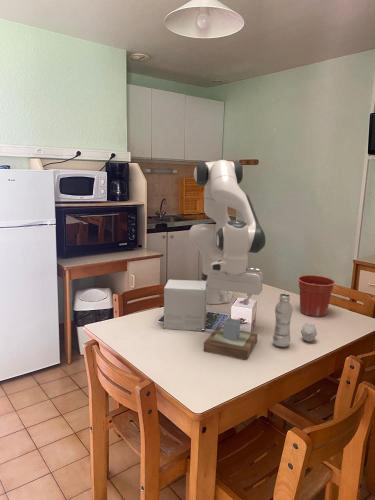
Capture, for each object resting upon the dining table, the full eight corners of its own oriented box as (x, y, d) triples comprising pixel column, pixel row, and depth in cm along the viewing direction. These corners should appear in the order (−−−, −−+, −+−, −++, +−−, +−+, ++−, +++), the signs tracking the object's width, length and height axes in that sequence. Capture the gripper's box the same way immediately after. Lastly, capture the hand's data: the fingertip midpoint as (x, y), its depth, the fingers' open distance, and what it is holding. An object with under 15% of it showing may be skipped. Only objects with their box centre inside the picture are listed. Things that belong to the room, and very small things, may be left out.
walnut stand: (217, 334, 153) (218, 325, 152) (257, 342, 147) (257, 332, 146) (203, 351, 138) (204, 340, 137) (246, 360, 132) (247, 349, 131)
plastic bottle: (268, 344, 144) (272, 294, 140) (279, 340, 149) (283, 291, 145) (282, 351, 139) (286, 299, 135) (293, 346, 144) (297, 295, 140)
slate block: (227, 332, 145) (227, 318, 144) (239, 335, 143) (240, 320, 142) (223, 337, 140) (223, 322, 139) (236, 340, 138) (236, 325, 137)
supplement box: (206, 319, 168) (207, 280, 164) (204, 331, 155) (205, 289, 151) (167, 317, 170) (168, 278, 166) (163, 329, 157) (163, 287, 153)
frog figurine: (316, 338, 151) (318, 322, 149) (315, 345, 144) (317, 328, 143) (301, 335, 153) (302, 319, 152) (299, 342, 147) (300, 325, 145)
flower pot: (327, 322, 168) (331, 287, 165) (290, 314, 176) (293, 281, 173) (334, 311, 182) (338, 278, 178) (300, 304, 190) (303, 273, 187)
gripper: (265, 267, 135) (263, 303, 138) (211, 260, 143) (210, 295, 146) (261, 271, 129) (259, 309, 132) (205, 264, 137) (204, 300, 140)
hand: (233, 302), depth 139 cm, fingers open, 8 cm apart
